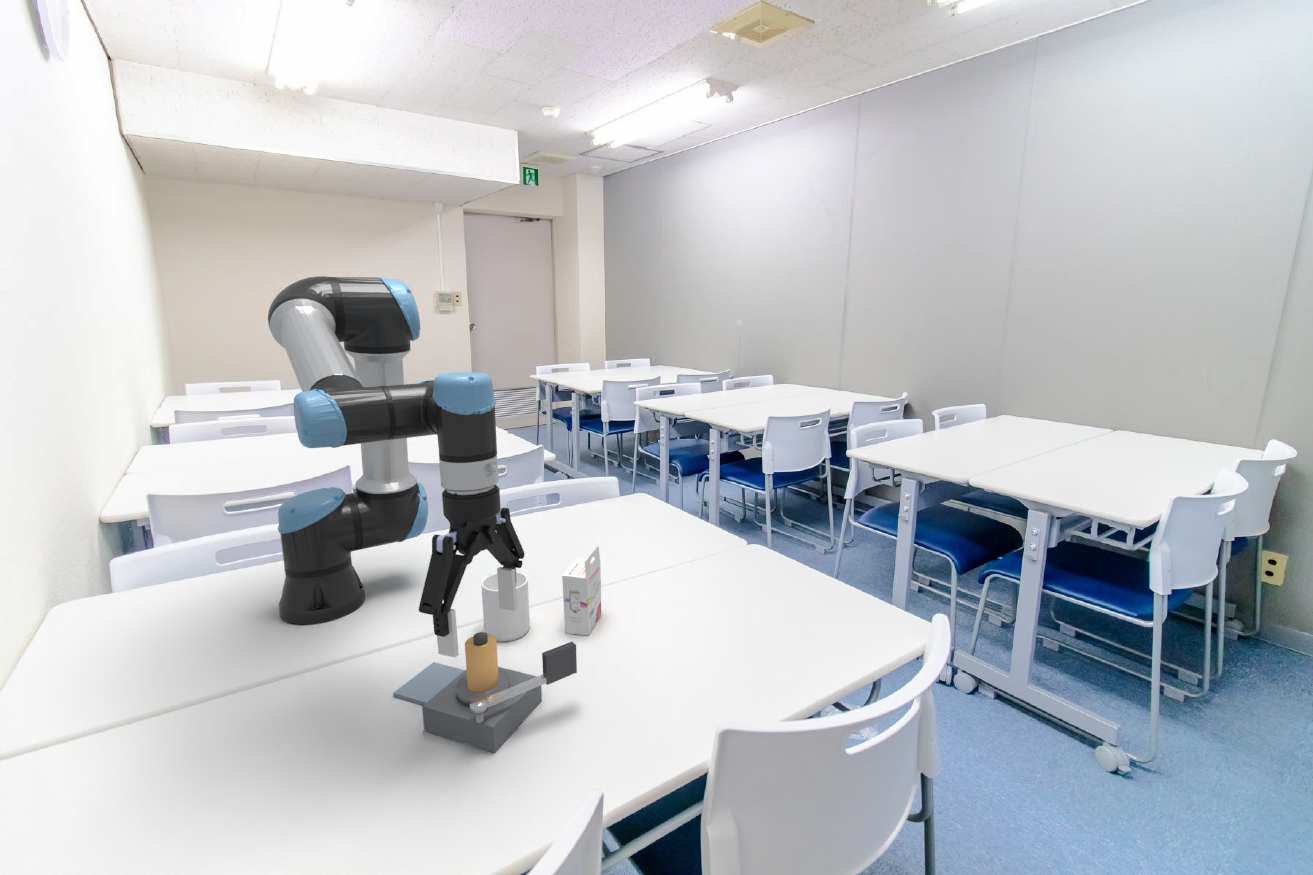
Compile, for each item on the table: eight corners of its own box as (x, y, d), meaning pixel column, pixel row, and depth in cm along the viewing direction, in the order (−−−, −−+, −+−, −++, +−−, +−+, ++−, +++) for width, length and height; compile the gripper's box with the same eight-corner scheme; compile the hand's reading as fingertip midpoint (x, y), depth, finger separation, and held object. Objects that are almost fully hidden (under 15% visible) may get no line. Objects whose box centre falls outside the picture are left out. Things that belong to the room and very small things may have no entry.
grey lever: (467, 709, 83) (465, 679, 82) (570, 666, 92) (569, 639, 91) (474, 718, 81) (472, 688, 80) (578, 674, 91) (578, 646, 90)
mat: (393, 696, 94) (393, 692, 94) (433, 665, 102) (433, 661, 102) (440, 709, 91) (440, 706, 91) (478, 676, 99) (477, 673, 99)
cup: (483, 645, 108) (480, 592, 106) (486, 612, 120) (483, 565, 118) (530, 639, 110) (528, 588, 108) (529, 608, 122) (527, 561, 119)
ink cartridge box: (578, 611, 120) (576, 541, 117) (602, 614, 119) (600, 544, 116) (563, 633, 112) (560, 559, 109) (588, 636, 111) (587, 562, 108)
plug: (447, 725, 88) (440, 643, 85) (480, 694, 95) (475, 618, 92) (491, 738, 85) (486, 654, 82) (521, 705, 92) (517, 627, 89)
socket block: (424, 730, 86) (421, 698, 85) (477, 683, 97) (475, 654, 96) (494, 752, 82) (492, 719, 81) (541, 700, 93) (540, 670, 92)
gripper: (428, 518, 70) (442, 684, 74) (543, 467, 92) (548, 596, 97) (378, 511, 72) (394, 671, 76) (501, 463, 95) (509, 589, 99)
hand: (480, 630), depth 87 cm, fingers open, 13 cm apart
